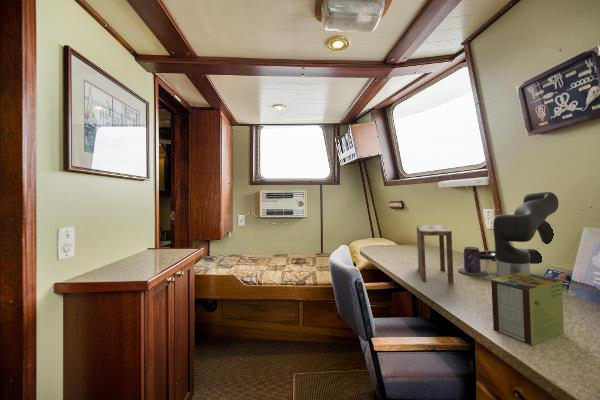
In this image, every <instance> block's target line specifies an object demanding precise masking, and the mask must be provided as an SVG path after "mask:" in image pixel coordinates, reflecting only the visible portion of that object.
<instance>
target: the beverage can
mask: <svg viewBox="0 0 600 400" xmlns="http://www.w3.org/2000/svg"><path fill="white" fill-rule="evenodd" d="M463 264H464V267H463V268H464V269H465V270H466V271H468V272H479V271H481V269H482V266H481V259H480V249H479V247H476V246H465V247H464V250H463Z"/></svg>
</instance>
